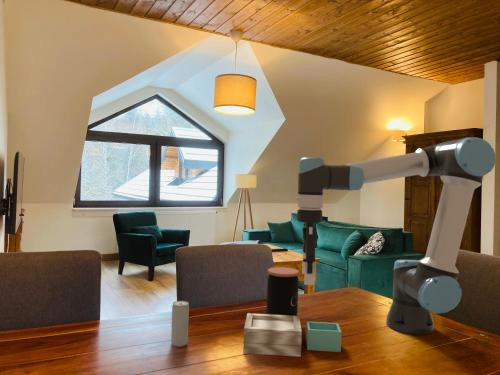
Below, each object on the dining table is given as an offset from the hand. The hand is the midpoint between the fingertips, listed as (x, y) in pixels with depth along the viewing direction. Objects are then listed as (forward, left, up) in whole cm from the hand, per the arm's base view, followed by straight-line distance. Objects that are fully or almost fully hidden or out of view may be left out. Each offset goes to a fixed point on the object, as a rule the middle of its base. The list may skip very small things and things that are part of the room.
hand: (307, 278), depth 123 cm
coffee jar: (+7, -16, -19) cm, 26 cm away
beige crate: (+10, +4, -19) cm, 22 cm away
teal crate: (-5, +2, -19) cm, 20 cm away
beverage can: (+37, +7, -19) cm, 42 cm away
